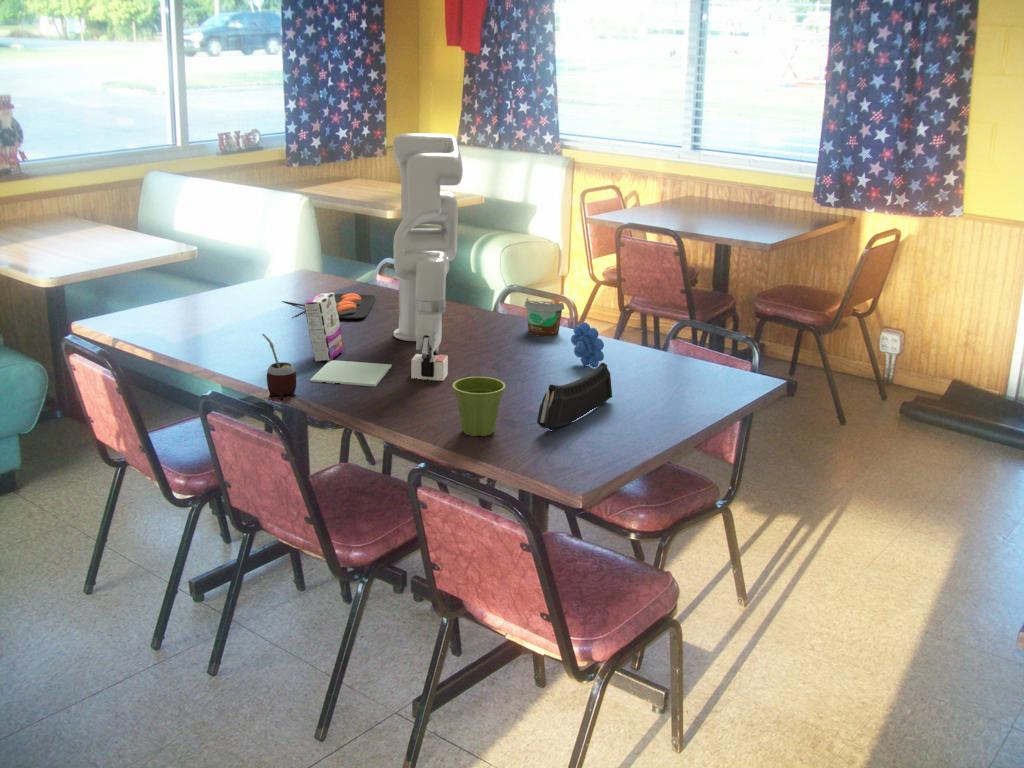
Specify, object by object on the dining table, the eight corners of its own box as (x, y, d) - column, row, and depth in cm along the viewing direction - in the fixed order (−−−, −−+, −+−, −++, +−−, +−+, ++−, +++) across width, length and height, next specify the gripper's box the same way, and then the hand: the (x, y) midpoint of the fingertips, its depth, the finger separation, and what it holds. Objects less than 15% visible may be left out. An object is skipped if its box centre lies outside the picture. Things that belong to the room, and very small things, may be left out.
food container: (517, 334, 325) (518, 301, 322) (524, 329, 330) (526, 297, 327) (556, 339, 321) (557, 306, 318) (563, 334, 326) (564, 302, 323)
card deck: (416, 371, 287) (416, 352, 286) (447, 374, 286) (447, 355, 285) (411, 378, 282) (411, 359, 280) (443, 380, 281) (443, 361, 279)
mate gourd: (296, 401, 263) (294, 341, 258) (263, 401, 261) (260, 341, 257) (297, 391, 270) (295, 332, 265) (264, 391, 268) (262, 333, 264)
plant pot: (461, 419, 254) (462, 373, 250) (510, 426, 251) (512, 380, 247) (444, 437, 243) (444, 389, 240) (494, 444, 240) (496, 396, 237)
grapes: (559, 363, 298) (561, 321, 294) (576, 359, 303) (578, 317, 299) (591, 374, 290) (594, 330, 286) (608, 369, 295) (611, 326, 291)
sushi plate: (364, 323, 333) (364, 311, 332) (266, 320, 333) (266, 307, 332) (377, 300, 360) (377, 289, 359) (286, 297, 360) (286, 285, 359)
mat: (330, 362, 293) (330, 360, 293) (391, 366, 291) (391, 364, 291) (310, 381, 277) (310, 379, 277) (375, 386, 275) (375, 384, 275)
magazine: (607, 362, 270) (548, 355, 244) (619, 365, 269) (561, 358, 243) (593, 430, 271) (534, 430, 246) (605, 433, 270) (546, 433, 244)
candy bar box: (328, 350, 303) (318, 293, 298) (345, 349, 302) (335, 292, 297) (313, 362, 292) (303, 302, 288) (330, 361, 291) (320, 301, 287)
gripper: (423, 296, 287) (422, 362, 292) (408, 312, 271) (408, 381, 276) (451, 298, 286) (450, 364, 291) (438, 314, 270) (437, 384, 275)
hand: (430, 372), depth 284 cm, fingers closed on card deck, 5 cm apart
